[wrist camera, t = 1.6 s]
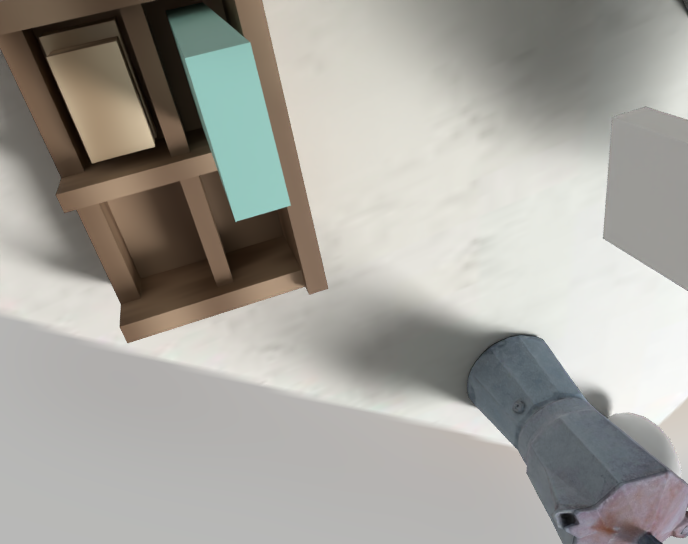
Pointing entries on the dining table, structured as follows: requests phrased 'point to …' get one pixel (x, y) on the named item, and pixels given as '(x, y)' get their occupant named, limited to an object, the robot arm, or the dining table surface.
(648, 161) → the robot arm
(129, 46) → the rack
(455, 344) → the dining table surface
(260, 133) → the panel
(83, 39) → the block
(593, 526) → the moka pot
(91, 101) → the offcut top
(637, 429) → the donut
